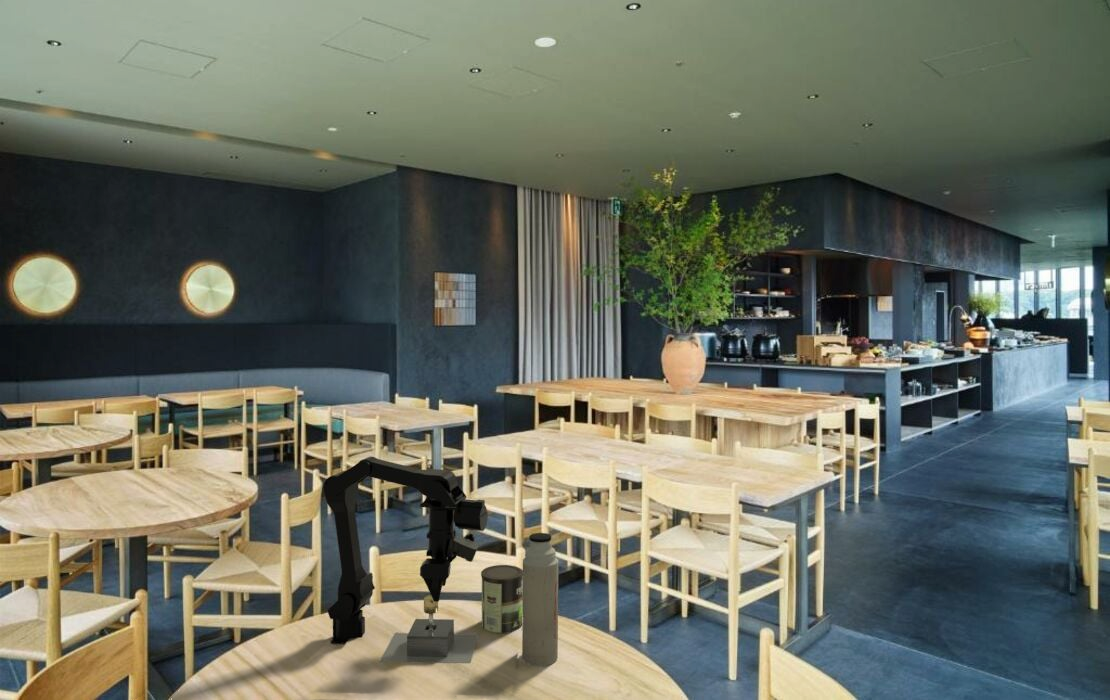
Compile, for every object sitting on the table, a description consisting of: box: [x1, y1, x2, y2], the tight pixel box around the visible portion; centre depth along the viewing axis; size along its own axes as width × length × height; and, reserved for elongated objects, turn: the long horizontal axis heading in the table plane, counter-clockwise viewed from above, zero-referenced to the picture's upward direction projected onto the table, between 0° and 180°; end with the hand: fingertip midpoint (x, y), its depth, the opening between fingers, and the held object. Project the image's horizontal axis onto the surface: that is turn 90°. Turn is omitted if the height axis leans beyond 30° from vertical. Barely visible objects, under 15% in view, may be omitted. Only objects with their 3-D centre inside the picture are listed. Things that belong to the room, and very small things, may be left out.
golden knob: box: [423, 594, 439, 630], centre depth 163 cm, size 4×4×8 cm
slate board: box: [379, 632, 479, 664], centre depth 164 cm, size 20×14×1 cm
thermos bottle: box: [521, 532, 559, 667], centre depth 161 cm, size 8×8×28 cm
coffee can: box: [480, 564, 523, 634], centre depth 176 cm, size 10×10×14 cm
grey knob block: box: [407, 618, 455, 657], centre depth 164 cm, size 9×9×5 cm
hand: (439, 593), depth 165 cm, fingers open, 9 cm apart
